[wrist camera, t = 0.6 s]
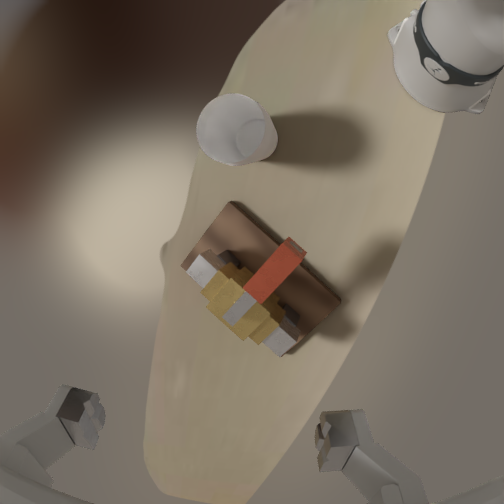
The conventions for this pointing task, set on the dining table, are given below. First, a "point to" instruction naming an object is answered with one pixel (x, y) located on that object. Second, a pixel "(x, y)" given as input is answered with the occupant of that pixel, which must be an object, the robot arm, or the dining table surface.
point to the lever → (267, 279)
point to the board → (256, 254)
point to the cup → (236, 130)
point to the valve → (231, 289)
